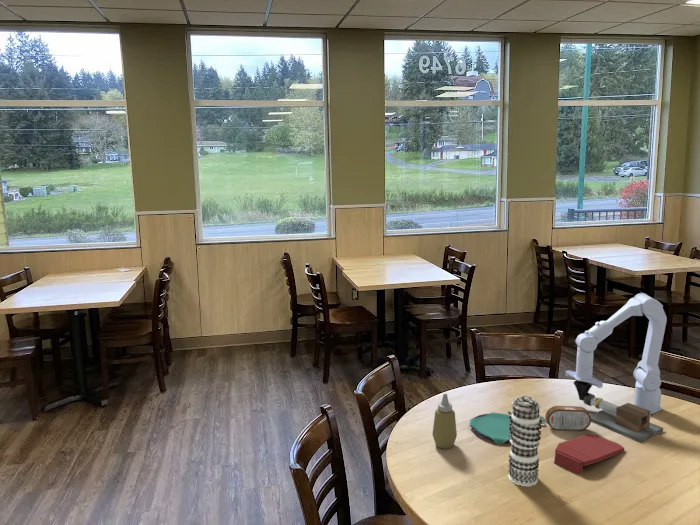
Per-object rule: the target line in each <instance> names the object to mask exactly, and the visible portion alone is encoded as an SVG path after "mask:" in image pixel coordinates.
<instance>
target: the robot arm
mask: <svg viewBox="0 0 700 525" xmlns="http://www.w3.org/2000/svg"><path fill="white" fill-rule="evenodd" d="M663 307H664V305H663V304H662V303H661V302H660V301H658V300H657V299H656V298H653V297H651V296H649V295H648V294H647V293H643V292H640V293H637V294H636V295H634V297H631V298H630V299H628V301H627V302H626V303H625V304H624V305H623V306H622V307H621V308H620V309H618V310H617V311H616V312H615V313H614V314H612V315H611V316H610V317H609V318H608V319H607V320H600V321H596V322H595V323H594V324H595V325H593V326H592V327H591V328H589V329H588V330H584V332H583V333H580V334H578V335H577V337H576V339H574V342H575V345H577V347H576V348H577V351H576V360H575V361H576V366H575V371H573V370H570V369H569V370H565V377H567V378H568V377H570V378H573V379H574V381H573V385H574V387H575V389H576V391H577V396H578V400H579V401H583V398H584V396H585V394H586V393H589V392H590V389H591V388H592V387H593V386H594V387H596V388H597V389H602V388H603V385H604V384H603V383H604V382H603V381H600V380H599V379H597V378H595V377H594V376H593V368H594V367H593V365H594V353H595V352H594V351H595V350H596V349H597V347H598V344H600V343H601V342H602V341H603V340H605V339H607V337H608V336H610V335H612V333H613V331H614V328H615V327H617V326H619V325H620V324H621V323H623V322H624V321H625V320H627V319H629V318H630V317H632V316H633V317H635V316H637V317H642V316H645V317H646V318H647V319H648V320H649V321H648V327H647V332H646V336H645V343H644V347H643V352H642V358H641V360H640V361H639V362H637V366H636V367H635V368H634V371H633V378H634V379H635V386H634V387H635V388H634V398H633V405H636V406H639V407H642V408H644V409H647V410H650V411H651V412H650V416H651V415H653V414H656V413H657V412H659V411H662V410H663V407H661V404H662V403H661V400H662V390H661V389H660V387H661V385H662V381H661V377H660V376H661V370H660V368H659V360H660V356H661V350H662V344H663V342H664V335H665V331H666V326H667V321H668V320H667V319H668V318H667V315H666V312H665V310H664V308H663Z"/></svg>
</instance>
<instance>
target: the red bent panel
mask: <svg viewBox="0 0 700 525" xmlns="http://www.w3.org/2000/svg"><path fill="white" fill-rule="evenodd" d="M554 451H555V452H554V453H555V454H554V462H553V464H555V465H557V466H559V467H561V468H563V469H565V470H567V471H570V472H571V473H574V474H576V475H580V474H581V472H582V473H583V467H584V466H589V465H592V464H596V463H598V462H602V461H603V460H606V459H608V458H611V457H613V456H616V455H618V454H621V453H623V452H624V451H625V446H623V445H621V444H620V443H619V442H616V441H612V440H610V439H607V438H605V437H603V436H600V435H595V434H593V433H587V434H583V435H580V436H578V437H575V438H571V439H569V440H568V439H567V440H565V441H563V442H559V443H558V445H556V448H555V450H554Z"/></svg>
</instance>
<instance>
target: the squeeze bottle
mask: <svg viewBox="0 0 700 525" xmlns="http://www.w3.org/2000/svg"><path fill="white" fill-rule="evenodd" d="M457 432H458V431H457V421H456V412H455V410H454V409H453V405H452V403H451V402H449V398H448V393H443V394H442V397H441V401H440V402H438V404H437V408H436V409H435V411H434V418H433V427H432V438H433V440H434V444H435V445H436V447H438V448H440V449H444V450H445V449H451V448H453V447H454V444H455V443H456V440H457V436H458V434H457Z"/></svg>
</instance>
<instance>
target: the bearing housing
mask: <svg viewBox="0 0 700 525" xmlns="http://www.w3.org/2000/svg"><path fill="white" fill-rule="evenodd" d="M618 406H619V407H617V409H616V414H613V413H611V412H608V411H606V410H603V409H600V410H599V411H596V412H594V413H591V414H590V416H591V423H593V424H596V425H599V426H601V427H603V428H606V429H608V430H611V431H612V432H615V433H618V434H619V435H622V436H624V437H627V438H629V439H631V440H633V441H636V442H638V443H641V442H643V441H646V440H647V439H649V438H652V437H653V436H655V435H657V434H660V433H661V432H663V431H664V427H662V426H660V425H657V424H654V423H652V422H650V420H651V415H650V412H651V411H650V410H647V409H644V408H642V407H639V406H636V405H634V403H630V402H627V403H624V404H622V405H618Z"/></svg>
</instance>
